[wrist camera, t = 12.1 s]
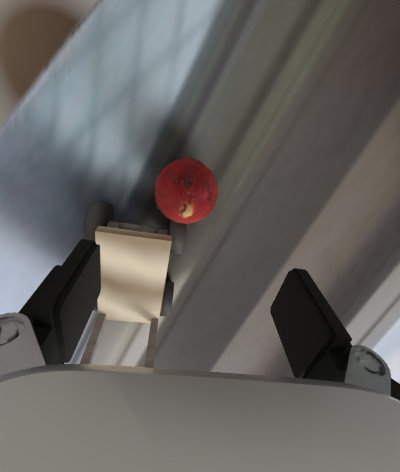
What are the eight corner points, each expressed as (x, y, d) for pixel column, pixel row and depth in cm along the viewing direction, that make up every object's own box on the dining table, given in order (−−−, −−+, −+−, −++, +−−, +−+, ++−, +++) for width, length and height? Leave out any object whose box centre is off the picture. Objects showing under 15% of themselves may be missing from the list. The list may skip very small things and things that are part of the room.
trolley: (98, 194, 25) (25, 281, 14) (186, 208, 27) (189, 297, 15) (100, 291, 32) (54, 402, 21) (169, 298, 34) (163, 405, 22)
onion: (161, 145, 23) (153, 167, 16) (218, 156, 24) (233, 182, 17) (155, 200, 26) (146, 238, 19) (206, 208, 27) (214, 247, 20)
